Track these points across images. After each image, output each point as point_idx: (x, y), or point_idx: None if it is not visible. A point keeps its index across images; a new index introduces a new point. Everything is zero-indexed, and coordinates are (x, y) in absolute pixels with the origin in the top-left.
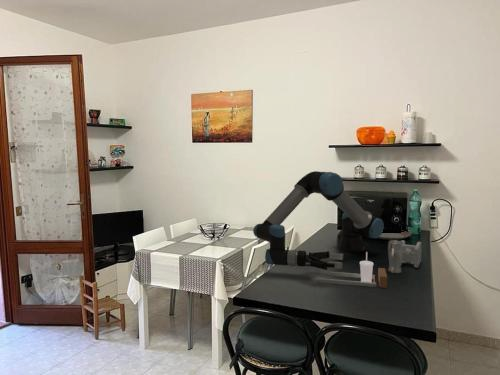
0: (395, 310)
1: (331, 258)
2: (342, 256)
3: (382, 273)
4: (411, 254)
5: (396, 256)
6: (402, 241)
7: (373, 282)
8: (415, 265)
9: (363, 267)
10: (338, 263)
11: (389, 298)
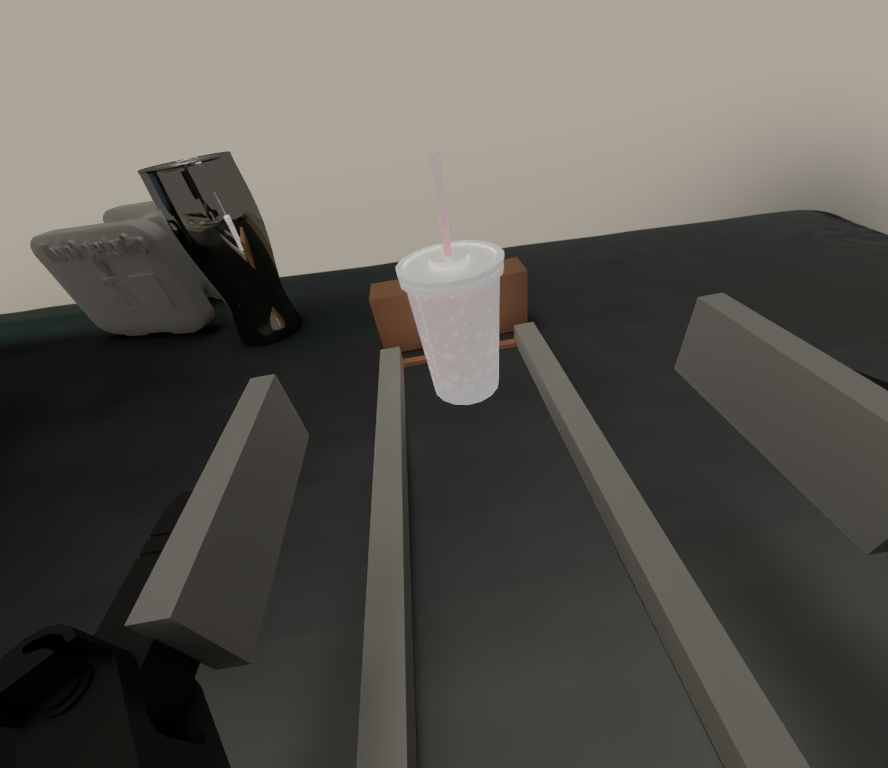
0: (758, 261)
1: (258, 602)
2: (288, 404)
3: None
4: None
5: (266, 237)
6: (64, 229)
7: (517, 332)
8: None
9: (496, 288)
10: (760, 329)
11: (644, 288)
